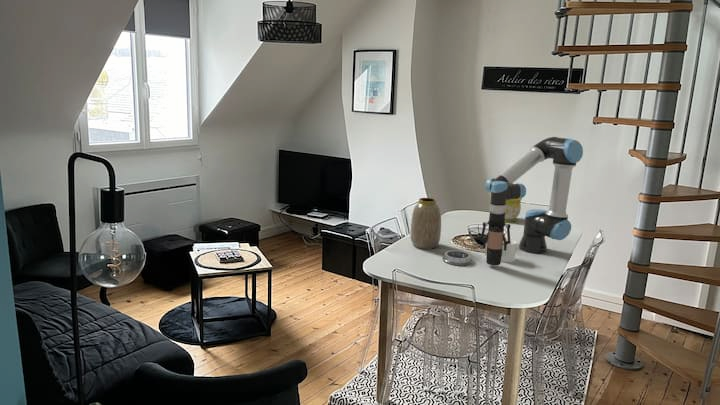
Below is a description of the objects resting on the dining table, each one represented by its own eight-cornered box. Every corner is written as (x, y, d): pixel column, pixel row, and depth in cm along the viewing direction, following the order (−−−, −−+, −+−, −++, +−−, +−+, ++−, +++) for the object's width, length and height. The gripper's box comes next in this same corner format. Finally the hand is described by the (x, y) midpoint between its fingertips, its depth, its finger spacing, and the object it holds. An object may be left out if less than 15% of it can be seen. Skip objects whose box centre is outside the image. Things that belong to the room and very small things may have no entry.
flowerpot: (493, 222, 356) (495, 198, 352) (491, 215, 374) (493, 193, 370) (520, 224, 353) (523, 200, 350) (517, 217, 371) (520, 194, 367)
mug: (509, 264, 275) (511, 245, 272) (491, 259, 281) (493, 241, 279) (519, 258, 284) (521, 240, 282) (502, 254, 290) (504, 236, 288)
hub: (472, 258, 282) (472, 251, 282) (471, 267, 268) (471, 260, 267) (444, 254, 286) (444, 248, 285) (441, 263, 272) (442, 257, 271)
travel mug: (501, 266, 265) (504, 228, 261) (486, 265, 267) (488, 227, 262) (500, 261, 273) (503, 224, 268) (485, 259, 274) (488, 223, 269)
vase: (443, 243, 306) (446, 198, 300) (434, 251, 291) (437, 204, 284) (415, 239, 313) (418, 195, 307) (405, 246, 298) (408, 200, 291)
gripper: (518, 211, 264) (514, 254, 270) (476, 208, 269) (473, 251, 275) (518, 215, 257) (515, 259, 263) (476, 212, 262) (473, 255, 268)
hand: (494, 255), depth 269 cm, fingers closed on travel mug, 8 cm apart
